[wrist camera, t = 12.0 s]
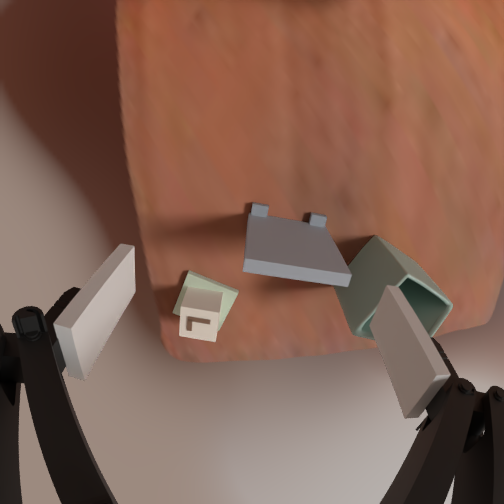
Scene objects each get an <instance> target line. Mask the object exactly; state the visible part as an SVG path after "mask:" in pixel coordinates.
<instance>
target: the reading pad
mask: <svg viewBox="0 0 504 504" xmlns="http://www.w3.org/2000/svg"><path fill="white" fill-rule="evenodd" d="M188 286H189V287H195V288H201V289H207V290H213V291H220V292H223V297H222V304H221V311H220V319H219V325H218V331H219V330H220V328H221V326H222V324H223V322H224V320H225V318H226V316H227V314H228V312H229V310H230V308H231V306H232V305H233V303H234V301H235V299H236V297H237V295H238V291H239V290H237V289H234V288H232V287H229V286H227V285H224V284H222V283H219V282H217V281H214V280H212V279H209V278H207V277H204V276H202V275H200V274H197V273H195V272H192V271H190V270H189V272H188V274H187V277H186V279H185V282H184V284H183V287H182V289H181V292H180V295H179V297H178V300H177V302H176V305H175V308H174V310H173V313H174V314H176V315H179V316H180V309H181V304H182V301H183V298H184V296H185V293H186V290H187V288H188Z"/></svg>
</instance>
